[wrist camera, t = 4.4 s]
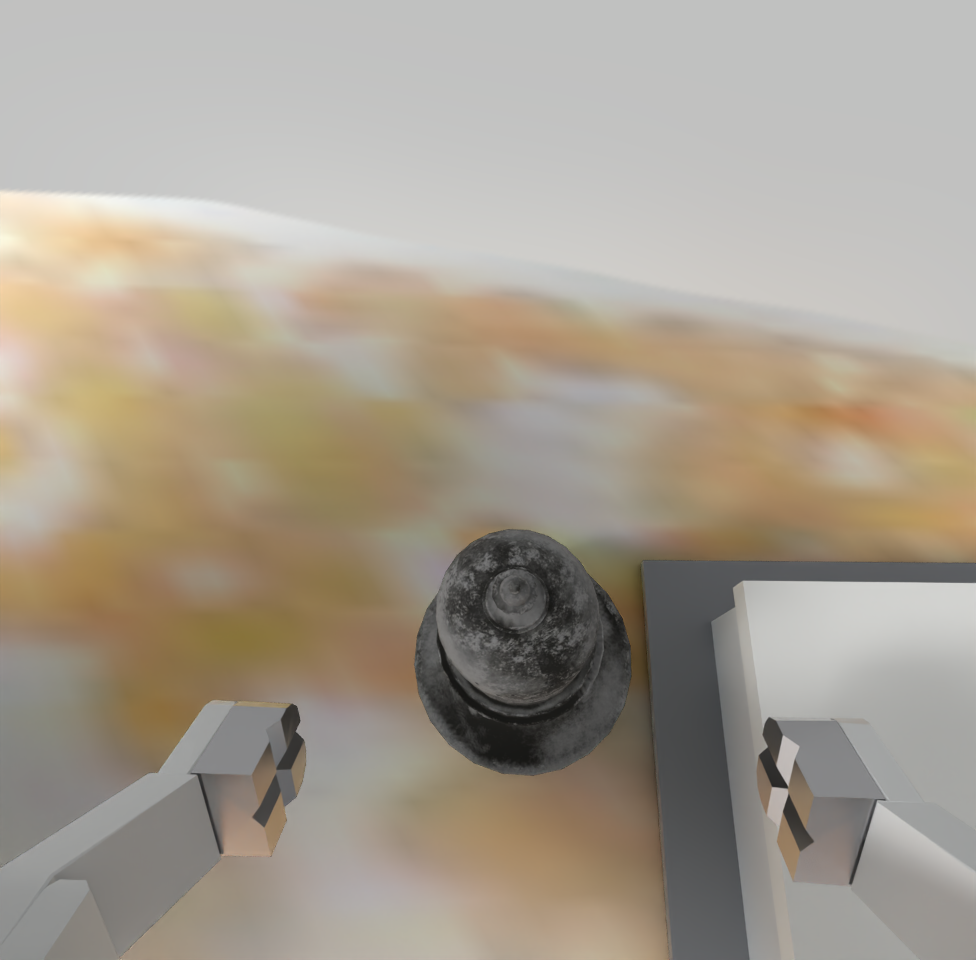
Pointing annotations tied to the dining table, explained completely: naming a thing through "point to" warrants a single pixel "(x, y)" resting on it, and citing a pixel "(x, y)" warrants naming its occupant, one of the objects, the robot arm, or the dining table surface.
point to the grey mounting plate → (802, 694)
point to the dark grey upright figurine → (522, 655)
